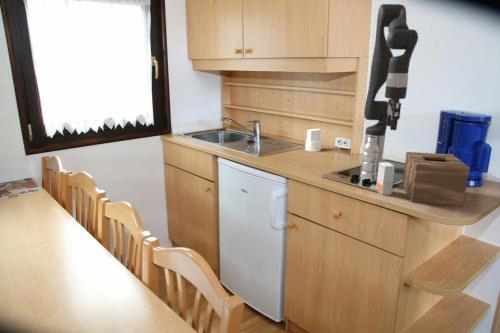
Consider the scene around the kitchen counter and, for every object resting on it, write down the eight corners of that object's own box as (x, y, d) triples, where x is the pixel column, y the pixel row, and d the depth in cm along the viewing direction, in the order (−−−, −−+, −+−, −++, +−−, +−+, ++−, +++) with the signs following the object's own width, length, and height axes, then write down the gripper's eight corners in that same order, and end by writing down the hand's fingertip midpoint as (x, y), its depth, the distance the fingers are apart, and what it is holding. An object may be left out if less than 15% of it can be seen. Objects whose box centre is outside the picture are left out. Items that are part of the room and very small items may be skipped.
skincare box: (375, 189, 157) (378, 162, 154) (385, 189, 158) (388, 162, 154) (381, 195, 152) (385, 166, 148) (391, 194, 152) (395, 166, 149)
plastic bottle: (376, 184, 164) (381, 139, 159) (360, 183, 165) (365, 138, 160) (374, 180, 170) (379, 136, 165) (359, 178, 172) (363, 135, 166)
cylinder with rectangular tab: (313, 152, 219) (315, 131, 216) (302, 149, 226) (303, 129, 223) (323, 150, 225) (325, 130, 222) (312, 147, 232) (313, 127, 228)
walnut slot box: (401, 185, 163) (406, 151, 159) (446, 189, 160) (452, 154, 156) (411, 202, 145) (416, 164, 140) (462, 206, 141) (469, 167, 137)
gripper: (383, 84, 150) (379, 124, 155) (388, 86, 137) (383, 130, 141) (403, 84, 149) (398, 125, 153) (410, 87, 136) (405, 131, 140)
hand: (391, 128), depth 147 cm, fingers open, 8 cm apart
